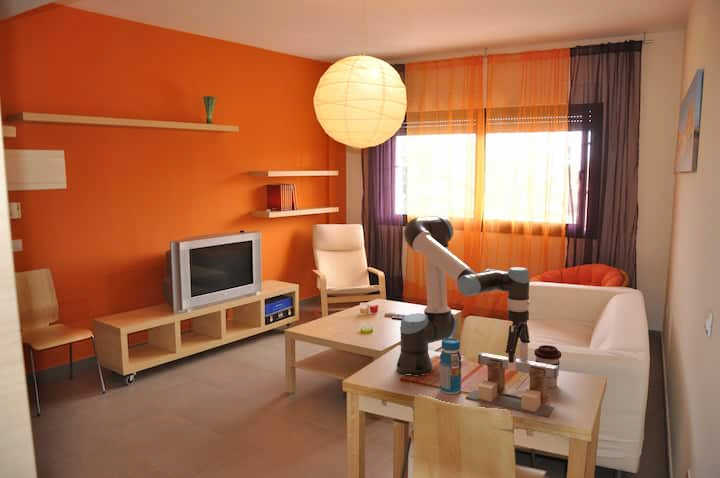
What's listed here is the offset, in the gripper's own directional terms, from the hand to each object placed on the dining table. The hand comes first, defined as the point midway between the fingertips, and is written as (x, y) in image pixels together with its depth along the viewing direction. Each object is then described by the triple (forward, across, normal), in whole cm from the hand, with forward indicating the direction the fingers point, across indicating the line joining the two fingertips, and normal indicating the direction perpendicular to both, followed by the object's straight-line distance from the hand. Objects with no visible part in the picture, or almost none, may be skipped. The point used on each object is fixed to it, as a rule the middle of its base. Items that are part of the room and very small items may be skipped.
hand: (517, 364), depth 207 cm
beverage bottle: (+12, -9, +23) cm, 28 cm away
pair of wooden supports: (+12, 0, 0) cm, 12 cm away
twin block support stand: (+12, -9, 0) cm, 15 cm away
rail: (+2, 0, 0) cm, 2 cm away
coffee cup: (+12, +16, -7) cm, 21 cm away
